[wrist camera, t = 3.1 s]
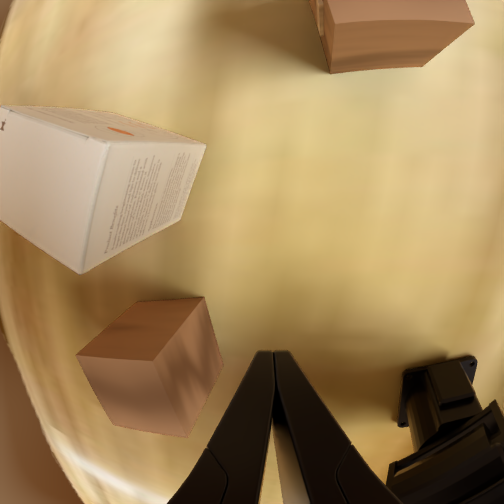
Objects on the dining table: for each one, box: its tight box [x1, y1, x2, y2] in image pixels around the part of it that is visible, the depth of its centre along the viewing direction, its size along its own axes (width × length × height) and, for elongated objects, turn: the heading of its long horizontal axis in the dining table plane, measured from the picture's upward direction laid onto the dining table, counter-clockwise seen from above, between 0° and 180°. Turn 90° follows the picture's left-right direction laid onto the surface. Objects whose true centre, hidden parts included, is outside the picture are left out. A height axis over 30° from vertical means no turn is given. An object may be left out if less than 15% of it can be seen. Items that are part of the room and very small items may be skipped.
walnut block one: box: [76, 297, 224, 438], centre depth 20 cm, size 6×6×8 cm
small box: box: [0, 105, 206, 275], centre depth 15 cm, size 8×6×10 cm
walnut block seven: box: [309, 0, 475, 74], centre depth 11 cm, size 6×6×8 cm
